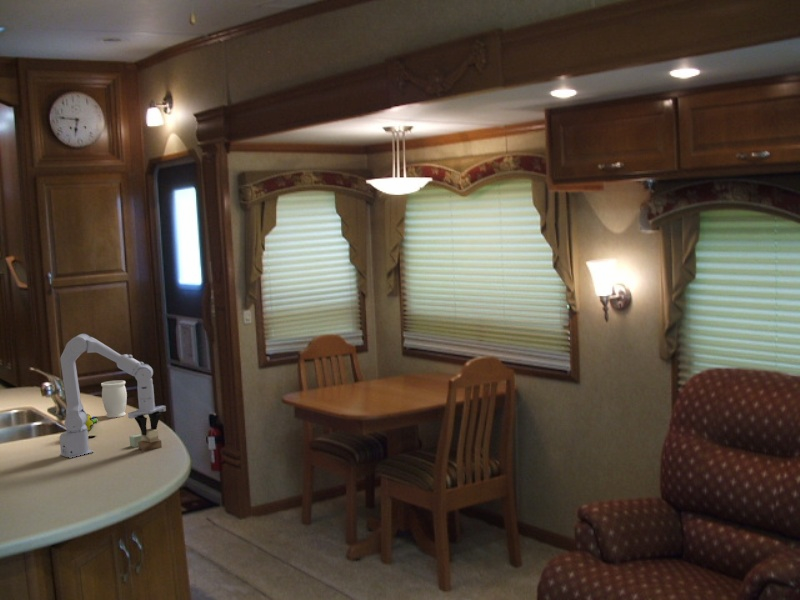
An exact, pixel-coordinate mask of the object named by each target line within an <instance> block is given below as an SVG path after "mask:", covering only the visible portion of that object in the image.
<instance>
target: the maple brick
mask: <svg viewBox="0 0 800 600" xmlns="http://www.w3.org/2000/svg"><path fill="white" fill-rule="evenodd" d="M146 430H147V433H146V435H142V432H141V431H140V434H141V438H142V441H146V442H150V443H151V442H155V441H159V439H160V438H159V429H151V427H148V428H147V427H146Z"/></svg>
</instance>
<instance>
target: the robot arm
mask: <svg viewBox="0 0 800 600" xmlns="http://www.w3.org/2000/svg"><path fill="white" fill-rule="evenodd" d="M85 352H86V353H87V354H90V353H91V354H92V353H97V354H99V355H101V356H102V357H105V358H106V359H108V360H110V361H113V362H115V363H116V367H117V368H118V369H120V371H121V370H122V371H123V372H125V373H126V374H128V375H130V376H132V377H134V378H135V380H136V381H137V382H136V383H137V388H136V389H137V399H138V409H136V410H133V411H131V412H127V414H128V415H127V416H128V419H131V420H132V419H134V421H136V423H137V425H138V426H139V429H140V433H141V432H142V435H146V433H147V430H146V429H147V421H148V418H149V423H150V428H151V429H156V430H158V423H159V422H160V419H161V417H162V413H161V412H166V411H167V406H166V405H157V406H156V403H155V393H154V392H155V391H154V390H155V389H154V384H153V383H154V382H153V381H154V380H153V375H154V369H153V368H152V366H150V365H149V364H148V363H144V362H143V361H140V360H137V359H135V358H134V357H133V356H134V355H132V354H128V353H126V354H125V353H124V354H121V353H119V352H117V351H115V350H114V349H113V348H111V347H109V346H108V345H106V344H104V343H103V342H101V341H99V340H98V339H96V338H94V337H93V336H90V335H88V334H87V333H80V334H77V335H76V336H74V337H73V338H71V339H70V340H69V341H68V342H66V345H65V348H64V349H63V352H62V354H61V356H60V359H59V360H60V367H61V373H62V380H63V388H64V393H65V395H64V396H65V402H66V403H65V404H66V409H65V410H66V411H65V419H64V426H65V429H66V431H65V432H62V433H61V434H60V436H59V445H60V454H59V455H60V456H62V457H64V458H65V457H66V458H68V457H69V459H73V458H77V457H80V455H81V456H85V455H88V453H89V454H92V452H93V453H95V451H94V450H93V449H92V450H91V449H90V445H89V443H90V442H89V437H88V436H89V432H88V430H87V426H86V425H85V423H86V422H87V419H88V417H87V414H88V413H87V412H86V411H85V407H84V405H83V403H82V399H81V393H80V384H79V378H78V371H77V363H76V361H77V359H78V358H79V357H80V356H81V355H82V354H83V353H85ZM86 413H87V414H86ZM147 415H148V417H146V416H147ZM84 454H85V455H84ZM76 456H77V457H76ZM72 457H73V458H72Z"/></svg>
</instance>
